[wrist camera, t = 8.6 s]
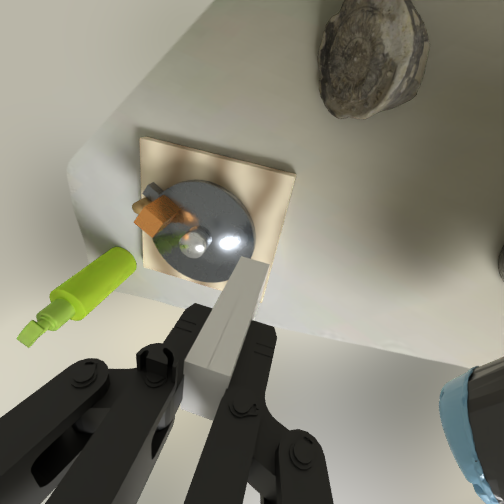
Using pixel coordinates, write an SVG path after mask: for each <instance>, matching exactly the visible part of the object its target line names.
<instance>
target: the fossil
mask: <svg viewBox="0 0 504 504" xmlns="http://www.w3.org/2000/svg"><path fill="white" fill-rule="evenodd" d="M429 48H430V43H429V39H428V35H427V31H426V29H425V26H424V22H423V21H422V19H421V17H420V15H419V14H418V12H417V11H416V9H415V7H414V6H413V4H412V1H411V0H345V1H344V3H343V5H342V7H341V10H340V12H339V13H338V14H336V15H334V16H333V17H331V19H330V20H329V22H328V23H327V25H326V28H325V31H324V34H323V39H322V42H321V45H320V48H319V54H318V64H319V69H320V74H321V78H320V80H319V83H320V87H319V91H320V95H321V98H322V100H323V102H324V104H325V106H326V107H327V109H328V111H329V112H330V113H331V114H332V115H334V116H335V117H337V118H338V119H344V118H347V117H351V118H356V119H367V118H369V117H371V116H372V115H374V114H376V113H378V112H381V111H384V110H388V109H392V108H395V107H397V106H399V105H401V104H403V103H405V102H407V101H409V100H411V99H412V98H414V97H415V96H416V95H417V91H418V89H419V87H420V84H421V81H422V79H423V75H424V73H425V67H426V62H427V58H428V53H429Z"/></svg>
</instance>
